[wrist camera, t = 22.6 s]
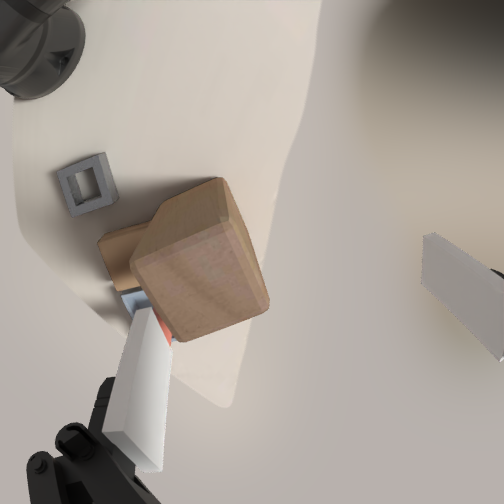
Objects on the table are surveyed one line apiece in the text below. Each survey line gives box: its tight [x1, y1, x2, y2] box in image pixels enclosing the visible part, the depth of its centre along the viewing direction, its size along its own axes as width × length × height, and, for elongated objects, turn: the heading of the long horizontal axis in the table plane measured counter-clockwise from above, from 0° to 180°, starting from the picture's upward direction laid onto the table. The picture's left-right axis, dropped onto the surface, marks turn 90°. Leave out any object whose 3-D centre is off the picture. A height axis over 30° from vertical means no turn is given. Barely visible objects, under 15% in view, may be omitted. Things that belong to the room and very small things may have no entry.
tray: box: [121, 286, 177, 342], centre depth 48 cm, size 10×10×4 cm
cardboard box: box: [97, 221, 151, 291], centre depth 44 cm, size 8×10×4 cm
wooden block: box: [129, 178, 270, 342], centre depth 35 cm, size 10×10×20 cm
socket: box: [57, 152, 119, 218], centre depth 39 cm, size 7×7×3 cm
